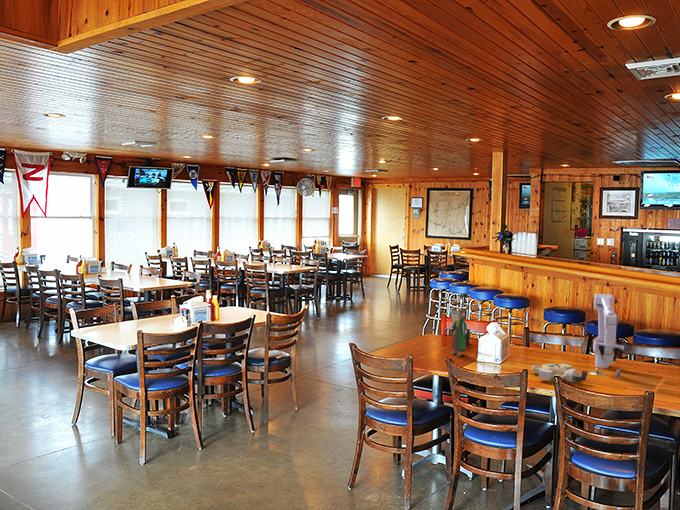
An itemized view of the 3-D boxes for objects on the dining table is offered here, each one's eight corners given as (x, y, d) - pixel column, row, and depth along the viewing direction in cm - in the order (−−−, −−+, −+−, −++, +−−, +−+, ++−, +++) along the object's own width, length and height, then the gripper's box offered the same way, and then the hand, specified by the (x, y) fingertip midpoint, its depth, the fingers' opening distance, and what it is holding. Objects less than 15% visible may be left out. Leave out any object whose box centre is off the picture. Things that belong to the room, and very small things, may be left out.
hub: (590, 372, 335) (591, 365, 334) (607, 375, 329) (608, 368, 329) (586, 375, 328) (587, 368, 327) (604, 378, 322) (604, 371, 322)
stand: (614, 375, 329) (615, 368, 329) (623, 376, 326) (623, 369, 326) (613, 377, 325) (613, 370, 325) (621, 378, 323) (622, 371, 322)
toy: (578, 374, 301) (522, 363, 320) (577, 389, 302) (521, 378, 321) (593, 365, 321) (539, 355, 340) (592, 379, 321) (538, 369, 340)
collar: (604, 360, 330) (605, 353, 330) (615, 361, 327) (615, 354, 327) (602, 362, 326) (602, 355, 326) (612, 363, 323) (613, 356, 322)
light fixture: (446, 346, 395) (448, 310, 393) (454, 341, 410) (455, 307, 409) (462, 348, 390) (463, 312, 388) (469, 343, 405) (471, 308, 404)
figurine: (446, 352, 376) (448, 306, 374) (455, 351, 380) (457, 305, 378) (462, 358, 362) (464, 310, 360) (471, 357, 365) (473, 309, 363)
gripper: (594, 335, 326) (593, 359, 327) (623, 339, 318) (621, 363, 319) (597, 333, 332) (596, 357, 333) (625, 337, 324) (623, 361, 325)
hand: (608, 360), depth 326 cm, fingers closed on collar, 5 cm apart
